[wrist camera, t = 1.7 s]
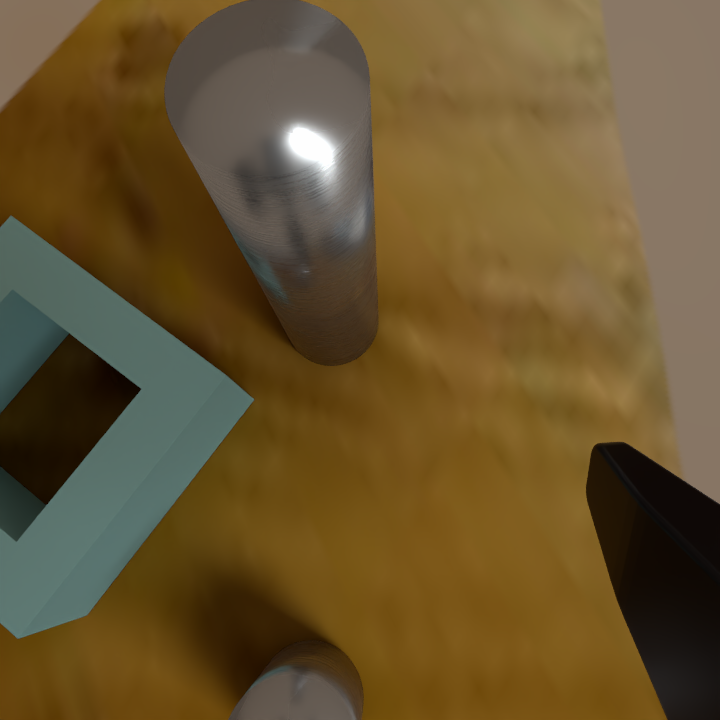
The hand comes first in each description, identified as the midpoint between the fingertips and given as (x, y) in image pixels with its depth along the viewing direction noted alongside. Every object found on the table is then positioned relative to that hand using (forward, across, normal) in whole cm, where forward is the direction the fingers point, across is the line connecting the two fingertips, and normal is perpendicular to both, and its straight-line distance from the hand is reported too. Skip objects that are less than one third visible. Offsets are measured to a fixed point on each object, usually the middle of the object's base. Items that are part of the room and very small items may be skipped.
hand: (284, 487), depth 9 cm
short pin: (+5, +1, +13) cm, 14 cm away
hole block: (+11, +9, +7) cm, 16 cm away
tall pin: (+14, 0, +4) cm, 14 cm away
